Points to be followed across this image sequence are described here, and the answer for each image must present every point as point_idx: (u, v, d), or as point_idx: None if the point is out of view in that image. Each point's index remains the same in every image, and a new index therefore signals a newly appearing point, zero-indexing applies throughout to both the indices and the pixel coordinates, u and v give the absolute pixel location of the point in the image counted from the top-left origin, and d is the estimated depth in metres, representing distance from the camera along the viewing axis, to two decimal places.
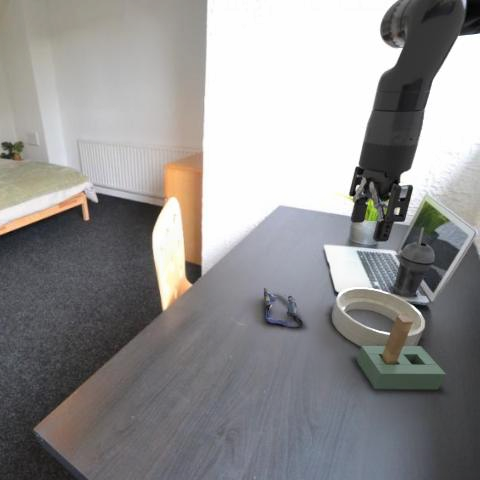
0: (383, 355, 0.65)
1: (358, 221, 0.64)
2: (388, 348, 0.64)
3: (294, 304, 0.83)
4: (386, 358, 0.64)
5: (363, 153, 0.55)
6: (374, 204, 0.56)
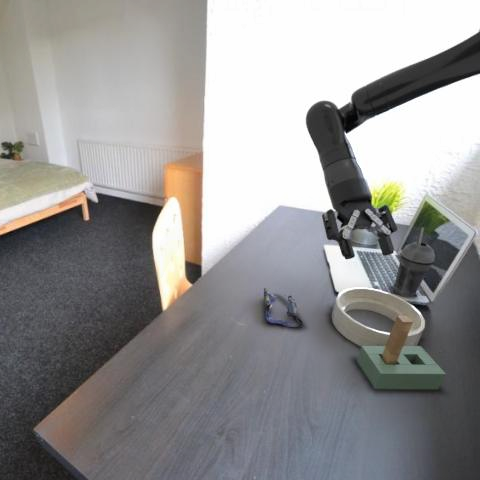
0: (383, 355, 0.65)
1: (387, 253, 0.68)
2: (388, 348, 0.64)
3: (294, 304, 0.83)
4: (386, 358, 0.64)
5: None
6: None
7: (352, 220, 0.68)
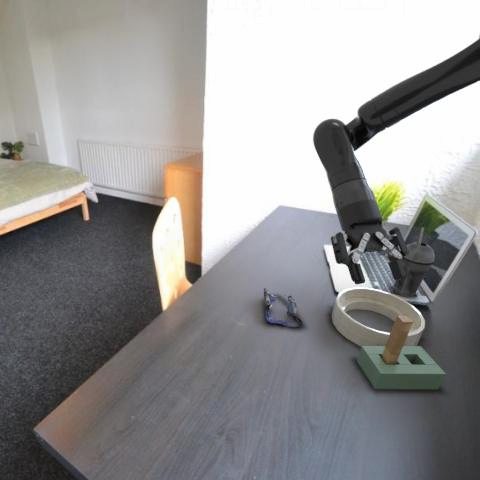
0: (383, 355, 0.65)
1: (398, 278, 0.66)
2: (388, 348, 0.64)
3: (294, 304, 0.83)
4: (386, 358, 0.64)
5: None
6: None
7: (362, 244, 0.66)
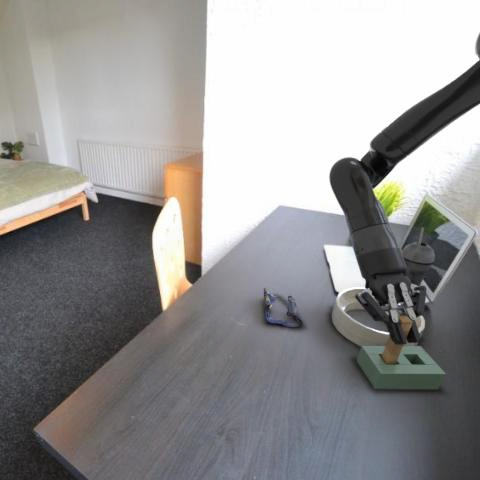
0: (383, 355, 0.65)
1: (412, 341, 0.60)
2: (388, 348, 0.64)
3: (294, 304, 0.83)
4: (386, 358, 0.64)
5: None
6: (382, 307, 0.64)
7: (392, 298, 0.61)
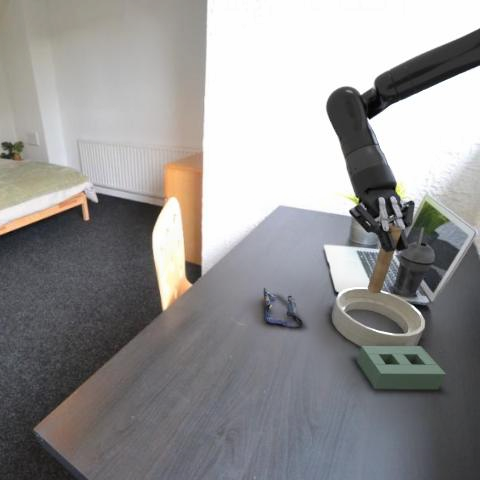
0: (375, 268, 0.70)
1: (401, 248, 0.65)
2: (379, 259, 0.69)
3: (294, 304, 0.83)
4: (377, 269, 0.69)
5: None
6: None
7: (382, 209, 0.66)
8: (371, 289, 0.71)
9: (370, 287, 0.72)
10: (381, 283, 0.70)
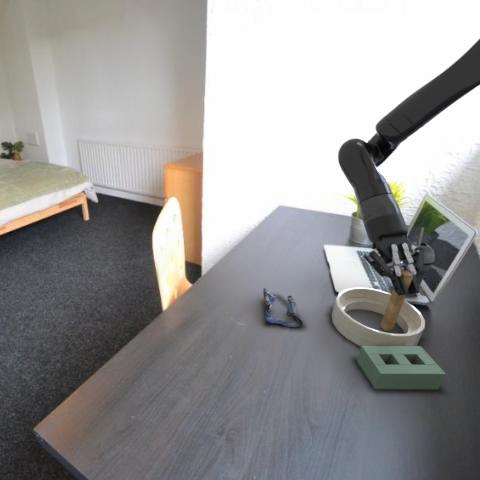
0: (387, 307, 0.75)
1: (413, 292, 0.70)
2: (392, 300, 0.74)
3: (294, 304, 0.83)
4: (390, 309, 0.74)
5: None
6: None
7: (395, 256, 0.71)
8: (384, 326, 0.76)
9: (383, 325, 0.77)
10: (393, 322, 0.75)
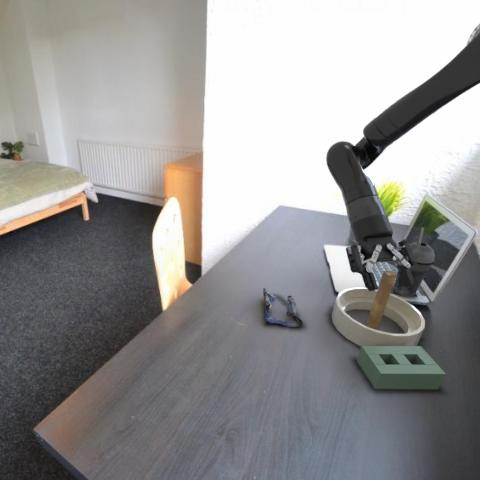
0: (373, 306, 0.77)
1: (407, 285, 0.73)
2: (376, 299, 0.76)
3: (294, 304, 0.83)
4: (375, 308, 0.76)
5: None
6: None
7: (375, 254, 0.73)
8: (369, 325, 0.78)
9: (369, 324, 0.79)
10: (378, 320, 0.77)
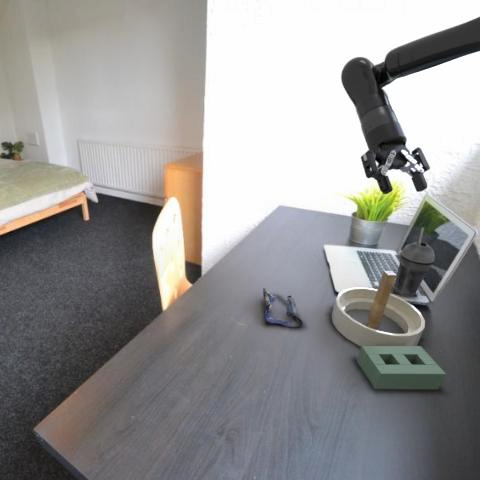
0: (373, 306, 0.77)
1: (420, 189, 0.75)
2: (376, 299, 0.76)
3: (293, 304, 0.83)
4: (375, 308, 0.76)
5: None
6: None
7: (389, 159, 0.75)
8: (369, 325, 0.78)
9: (369, 324, 0.79)
10: (378, 320, 0.77)
